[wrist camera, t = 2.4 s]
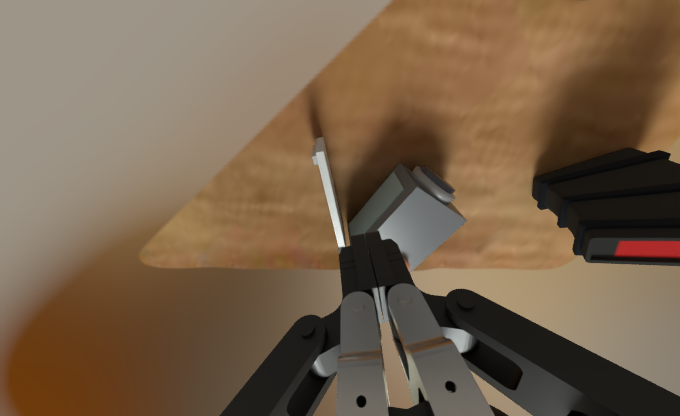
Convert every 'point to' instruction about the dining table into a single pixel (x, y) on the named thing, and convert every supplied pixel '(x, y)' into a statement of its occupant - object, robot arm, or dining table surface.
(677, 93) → the dining table surface
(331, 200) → the side door
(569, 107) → the dining table surface
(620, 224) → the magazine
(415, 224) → the camera body
